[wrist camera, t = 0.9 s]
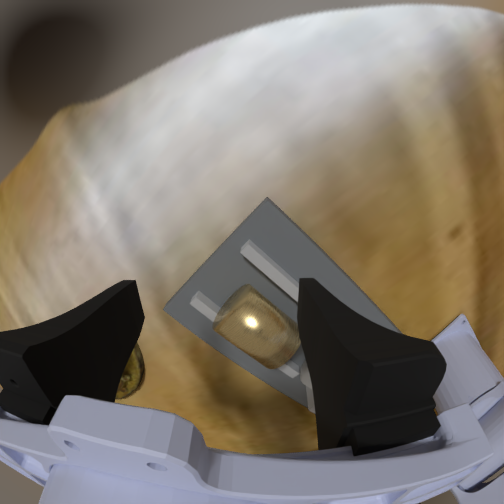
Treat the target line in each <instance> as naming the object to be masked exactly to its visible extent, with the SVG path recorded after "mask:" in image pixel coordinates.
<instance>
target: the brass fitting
mask: <svg viewBox="0 0 504 504" xmlns="http://www.w3.org/2000/svg"><path fill="white" fill-rule="evenodd" d="M212 328H213V330H214V331H215V332H217V333H218V334H219V335H221V336H222V337H223V338H225V339H226V340H228V341H229V342H230V343H232V344H233V345H235V346H236V347H237V348H239V349H240V350H242V351H243V352H244V353H246V354H247V355H249V356H250V357H252V358H253V359H254V360H256V361H257V362H259V363H260V364H262V365H263V366H265V367H266V368H268V369H276V368H278V367H280V366H282V365H284V364H285V363H286V362H287V361H288V360H289V359H290V358H291V357H292V356H293V355H294V354H295V352H296V351H297V349H298V348H299V346H300V343H301V341H300V337H299V330H298V324H297V323H296V322H295V321H294V320H292V319H291V318H290V317H289V316H288V315H286V314H285V313H284V312H283V311H281V310H280V309H279V308H278V307H277V306H275V305H274V304H273V303H272V302H271V301H269V300H268V299H267V298H266V297H264V296H263V295H262V294H261V293H260V292H258V291H257V290H256V289H255V288H254V287H252V286H251V285H250V284H245V285H243V286H242V287H240V288H239V289H238V290H236V291H235V292H234V293H233V294H232V295H231V296H230V297H229V298H228V299H227V301H226V302H225V303H224V304H223V306H222V307H221V309H220V310H219V312H218V313H217V315H216V317H215V319H214V322H213V326H212Z"/></svg>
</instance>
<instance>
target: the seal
mask: <svg viewBox="0 0 504 504" xmlns="http://www.w3.org/2000/svg"><path fill="white" fill-rule="evenodd" d="M143 371H144V363H143V358H142V354H141V351H140V348H139V345H138V343H136V345H135V347H134V349H133V351H132V354H131V356H130V358H129V360H128V362H127V365H126V367H125V369H124V371H123V374H122V377H121V379H120V383H119V386H118V390H117V394H116V398H115V399H121V398H124V397H125V396H127V395H129V394H130V393H131V392H132V391H134V390H135V389H136V388H137V387H138V386H139V384H140V382H141V379H142V375H143Z"/></svg>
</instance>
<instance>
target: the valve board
mask: <svg viewBox="0 0 504 504" xmlns="http://www.w3.org/2000/svg"><path fill="white" fill-rule="evenodd" d="M299 278H315V279H316V280H317V281H318V282H319V283H320V284H321V285H322V286H324V287H325V288H326V289H327V290H328V291H329V292H330V293H332V294H333V295H334V296H335V297H336V298H338V299H339V300H340V301H341V302H343V303H344V304H345V305H347V306H348V307H349V308H351V309H352V310H354V311H355V312H357V313H358V314H360V315H362V316H363V317H365V318H367V319H369V320H370V321H372V322H374V323H376V324H379V325H381V326H383V327H385V328H387V329H390V330H393V331H395V332H398V333H401V331H400V330H399V329H398V328H397V327H396V326H395V325H394V324H393V323H392V322H391V320H390V319H389V318H388V317H387V316H386V315H385V314H384V313H383V312H382V311H381V310H380V309H379V308H378V306H377V305H376V304H375V303H374V302H373V301H372V300H371V299H370V298H369V297H368V296H367V295H366V294H365V293H364V292H363V291H362V290H361V289H360V287H359V286H358V285H357V284H356V283H355V282H354V281H353V280H352V279H351V278H350V277H349V276H348V275H347V274H346V273H345V272H344V271H343V270H342V269H341V268H340V267H339V266H338V265H337V264H336V263H335V262H334V261H333V260H332V259H331V258H330V257H329V256H328V255H327V254H326V253H325V252H324V251H323V250H322V249H321V248H320V247H319V246H318V245H317V244H316V243H315V242H314V241H313V240H312V239H311V238H310V237H309V236H308V235H307V234H306V233H305V232H304V231H303V230H302V229H301V228H300V227H299V226H298V225H297V224H296V223H294V222H293V221H292V220H291V219H290V218H289V217H288V216H287V215H286V214H285V213H284V212H283V211H282V210H281V209H280V208H279V207H278V206H277V205H275V204H274V203H273V202H272V201H271V200H270V199H269V198H268V197H267V198H266V199H265V200H264V201H263V202H262V203H261V204H260V205H259V206H258V207H257V208H256V209H255V210H254V211H253V212H252V213H251V214H250V215H249V216H248V217H247V218H246V219H245V220H244V221H243V222H242V223H241V224H240V225H239V226H238V228H237V229H236V230H235V231H234V232H233V233H232V234H231V235H230V236H229V237H228V238H227V239H226V240H225V241H224V242H223V243H222V244H221V245H220V246H219V247H218V249H217V250H216V251H215V252H214V253H213V254H212V255H211V256H210V257H209V258H208V259H207V260H206V261H205V262H204V263H203V264H202V266H201V267H200V268H199V269H198V270H197V271H196V272H195V273H194V274H193V275H192V276H191V277H190V278H189V279H188V281H187V282H186V283H185V284H184V285H183V286H182V287H181V288H180V289H179V290H178V291H177V293H176V294H175V295H174V296H173V297H172V298H171V299H170V300H169V301H168V302H167V304H166V305H165V307H164V309H163V310H164V311H165V312H167V313H168V314H169V315H170V316H172V317H173V318H174V319H176V320H177V321H178V322H179V323H181V324H182V325H183V326H185V327H186V328H187V329H189V330H190V331H191V332H193V333H194V334H195V335H197V336H198V337H199V338H201V339H202V340H203V341H205V342H206V343H208V344H209V345H210V346H212V347H213V348H215V349H216V350H217V351H219V352H220V353H222V354H223V355H225V356H226V357H228V358H229V359H230V360H232V361H233V362H235V363H236V364H238V365H239V366H241V367H242V368H244V369H245V370H247V371H248V372H250V373H251V374H253V375H254V376H256V377H258V378H259V379H261V380H262V381H264V382H265V383H267V384H269V385H270V386H272V387H273V388H275V389H277V390H278V391H280V392H281V393H283V394H285V395H286V396H288V397H290V398H291V399H293V400H295V401H297V402H298V403H300V404H302V405H303V406H305V407H307V408H308V410H309V411H311V412H313V413H314V414H315V405H314V397H313V390H312V383H311V378H310V374H309V370H308V367H307V363H306V359H305V356H304V352H303V348H302V345H301V343H300V346H299V348H298V349H297V351H296V352H295V354H294V355H293V356H292V357H291V358H290V359H289V360H288V361H287V362H286V363H285V364H284V365H282V366H280V367H278V368H276V369H268V368H266V367H265V366H263V365H262V364H260V363H259V362H257V361H256V360H254V359H253V358H252V357H250V356H249V355H247V354H246V353H244V352H243V351H242V350H240V349H239V348H237V347H236V346H235V345H233V344H232V343H230V342H229V341H228V340H226V339H225V338H223V337H222V336H221V335H219V334H218V333H217V332H215V331H214V330H213V328H212V326H213V322H214V319H215V317H216V315H217V313H218V312H219V310H220V309H221V307H222V306H223V304H224V303H225V302H226V301H227V299H228V298H229V297H230V296H231V295H232V294H233V293H234V292H235V291H236V290H238V289H239V288H240V287H242V286H243V285H245V284H250V285H251V286H252V287H254V288H255V289H256V290H257V291H258V292H260V293H261V294H262V295H263V296H264V297H266V298H267V299H268V300H269V301H271V302H272V303H273V304H274V305H275V306H277V307H278V308H279V309H280V310H281V311H283V312H284V313H285V314H286V315H288V316H289V317H290V318H291V319H292V320H294V321H295V322H296V323H297V308H298V292H299ZM297 324H298V323H297ZM401 334H402V333H401Z"/></svg>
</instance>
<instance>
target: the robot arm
mask: <svg viewBox="0 0 504 504" xmlns="http://www.w3.org/2000/svg"><path fill="white" fill-rule="evenodd" d="M144 319H145V316H144V313H143V309H142V305H141V301H140V297H139V293H138V288H137V284H136V280H123V281H121V282H119V283H117V284H115V285H113V286H111V287H110V288H108V289H106V290H105V291H103V292H101V293H100V294H98V295H97V296H95V297H93V298H92V299H90V300H88V301H86V302H85V303H83V304H81V305H79V306H78V307H76V308H74V309H72V310H70V311H68V312H66V313H64V314H62V315H59V316H57V317H55V318H52V319H49V320H47V321H44V322H41V323H39V324H35V325H32V326H28V327H24V328H20V329H15V330H9V331H3V332H0V384H1V386H2V387H3V390H2V392H1V393H0V460H1V461H2V462H4V463H5V464H7V465H8V466H10V467H12V468H13V469H15V470H16V471H18V472H19V473H21V474H23V475H25V476H26V477H27V478H29V479H31V480H33V481H34V482H36V483H38V484H39V485H41V486H43V487H44V490H43V492H42V495H41V498H40V501H39V504H418V503H420V502H423V501H425V500H427V499H430V498H432V497H434V496H437V495H439V494H441V493H443V492H445V491H448V490H450V491H451V492H452V493H453V495H454V496H455V498H456V500H457V502H458V504H504V472H503V473H502V474H500V476H498V477H497V478H495V479H493V480H492V481H490V482H487V483H482V482H484V481H485V480H487V479H488V478H489V477H491V476H492V475H493V474H495V473H496V472H498V471H499V470H500V469H501V468H503V467H504V378H503V377H502V375H501V374H500V373H499V371H498V370H497V368H496V367H495V366H494V364H493V363H492V361H491V360H490V359H489V357H488V356H487V355H486V353H485V352H484V351H483V349H482V348H481V346H480V344H479V342H478V340H477V338H476V336H475V334H474V332H473V330H472V328H471V326H470V324H469V322H468V320H467V318H466V317H465V315H464V314H460V315H459V316H458V317H457V318H456V319H455V320H454V321H453V322H452V323H451V324H449V325H448V326H447V327H446V328H445V329H444V330H443V331H442V332H441V333H440V334H438V335H437V336H436V337H435V338H434V339H433V340H431V341H427V340H423V339H418V338H414V337H410V336H407V335H404V334H401V333H398V332H395V331H393V330H390V329H387V328H385V327H383V326H381V325H379V324H376V323H374V322H372V321H370V320H369V319H367V318H365V317H363V316H362V315H360V314H358V313H357V312H355V311H354V310H352V309H351V308H349V307H348V306H347V305H345V304H344V303H343V302H341V301H340V300H339V299H338V298H336V297H335V296H334V295H333V294H332V293H330V292H329V291H328V290H327V289H326V288H325V287H324V286H322V285H321V284H320V283H319V282H318V281H317V280H316V279H315V278H299V292H298V308H297V323H298V330H299V337H300V341H301V345H302V348H303V352H304V356H305V359H306V363H307V367H308V370H309V374H310V378H311V383H312V390H313V397H314V405H315V414H316V424H317V435H318V449H319V450H318V451H308V452H297V453H283V454H254V455H252V454H244V453H238V452H232V451H226V450H220V449H215V448H210V447H207V446H206V444H205V441H204V438H203V435H202V434H201V433H200V432H199V430H198V429H197V428H196V427H195V426H194V424H192V423H191V422H190V421H188V420H186V419H184V418H182V417H180V416H178V415H176V414H174V413H170V412H166V411H162V410H158V409H152V408H145V407H138V406H131V405H125V404H119V403H114V402H115V398H116V394H117V390H118V386H119V383H120V379H121V377H122V374H123V371H124V369H125V367H126V365H127V362H128V360H129V358H130V356H131V354H132V351H133V349H134V347H135V345H136V343H137V340H138V338H139V336H140V333H141V329H142V326H143V322H144ZM435 408H436V411H437V413H438V416H436V414H435V412H434V410H433V409H435Z"/></svg>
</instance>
